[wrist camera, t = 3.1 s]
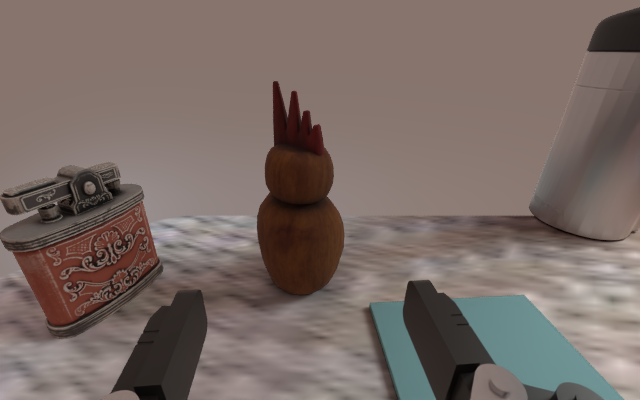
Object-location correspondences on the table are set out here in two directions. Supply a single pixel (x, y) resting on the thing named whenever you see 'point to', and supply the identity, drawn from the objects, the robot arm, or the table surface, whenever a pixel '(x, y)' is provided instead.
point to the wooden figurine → (298, 204)
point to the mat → (492, 347)
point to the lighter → (81, 244)
